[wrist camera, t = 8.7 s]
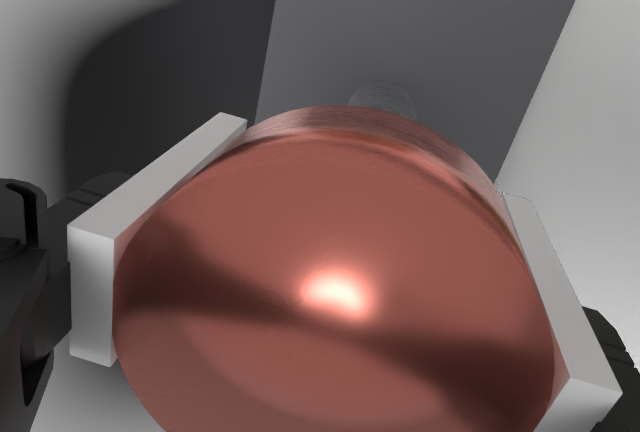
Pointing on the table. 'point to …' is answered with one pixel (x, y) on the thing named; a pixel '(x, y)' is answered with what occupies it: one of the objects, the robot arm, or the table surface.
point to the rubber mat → (417, 61)
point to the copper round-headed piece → (334, 285)
